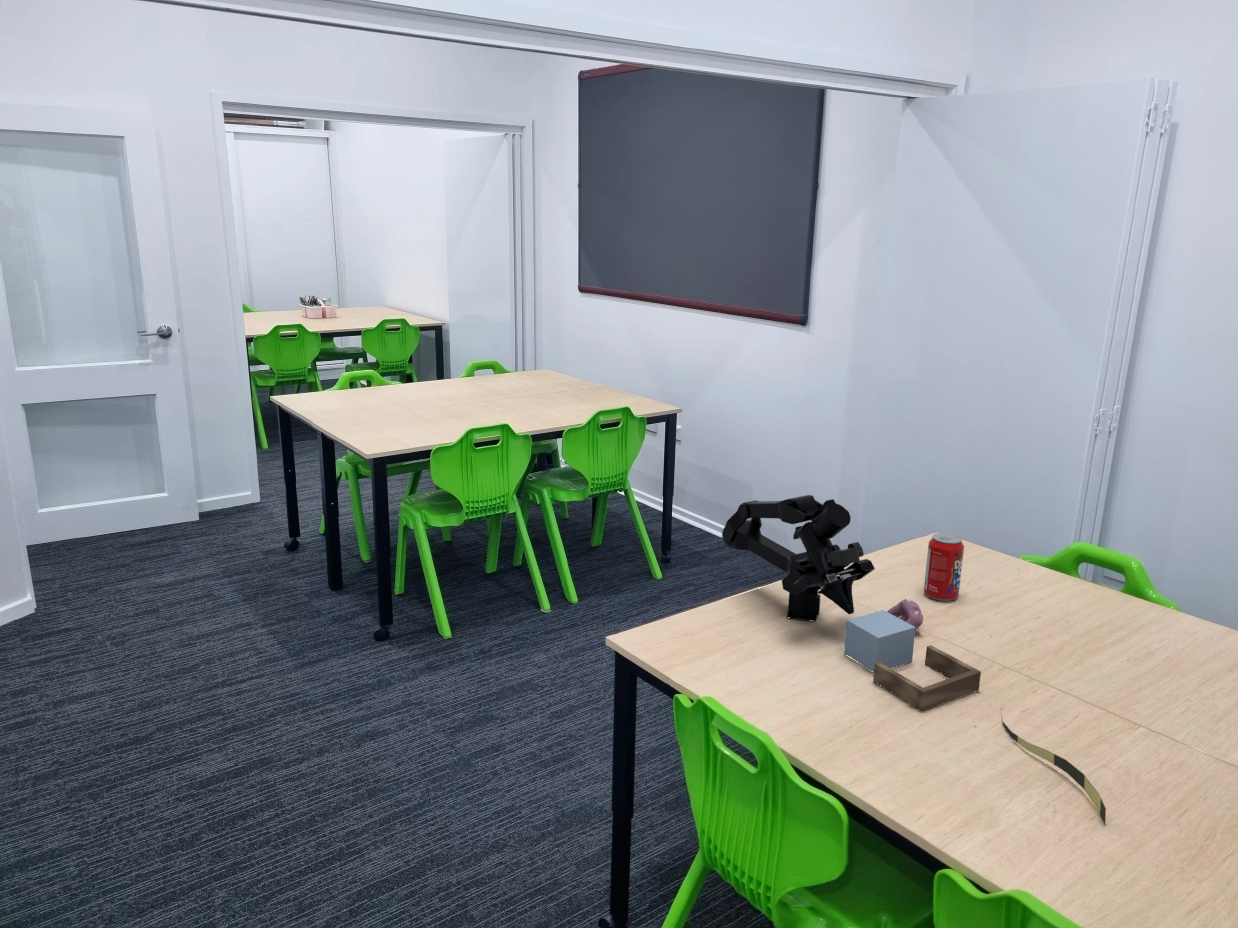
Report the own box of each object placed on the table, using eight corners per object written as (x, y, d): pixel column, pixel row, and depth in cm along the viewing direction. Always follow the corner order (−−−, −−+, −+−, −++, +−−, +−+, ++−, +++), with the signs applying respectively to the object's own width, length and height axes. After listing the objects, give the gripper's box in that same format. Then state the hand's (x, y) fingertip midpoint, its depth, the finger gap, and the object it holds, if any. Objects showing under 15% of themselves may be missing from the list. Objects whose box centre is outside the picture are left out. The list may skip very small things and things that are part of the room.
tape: (1069, 829, 133) (1072, 808, 132) (979, 695, 169) (980, 677, 168) (1110, 829, 133) (1113, 807, 132) (1010, 694, 169) (1012, 677, 168)
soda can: (916, 591, 213) (922, 533, 209) (944, 587, 216) (950, 529, 212) (936, 605, 206) (943, 544, 202) (965, 600, 209) (972, 541, 204)
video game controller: (913, 644, 191) (930, 617, 189) (895, 635, 191) (912, 608, 189) (900, 623, 201) (916, 598, 199) (882, 615, 200) (899, 589, 198)
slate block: (844, 654, 183) (846, 619, 181) (880, 644, 188) (883, 609, 186) (874, 674, 176) (878, 637, 174) (911, 662, 180) (915, 627, 178)
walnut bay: (873, 681, 173) (874, 663, 172) (929, 662, 180) (930, 644, 179) (921, 711, 163) (923, 692, 161) (978, 690, 170) (981, 671, 169)
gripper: (805, 539, 182) (838, 608, 176) (872, 524, 191) (906, 589, 185) (779, 561, 191) (810, 628, 185) (844, 546, 200) (875, 609, 194)
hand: (851, 613), depth 187 cm, fingers closed
